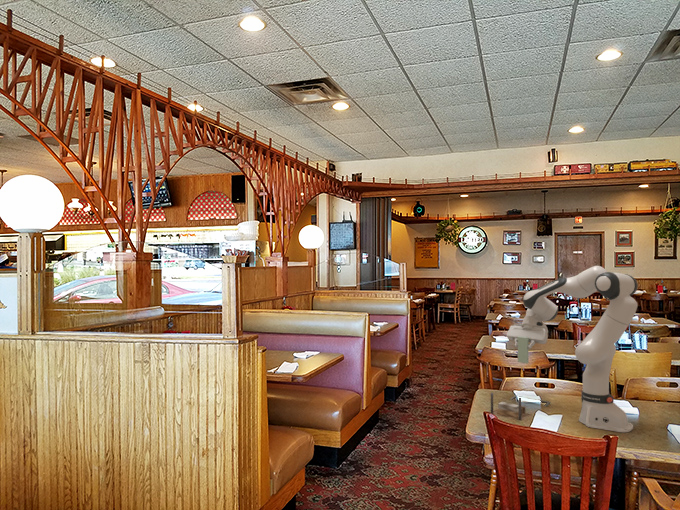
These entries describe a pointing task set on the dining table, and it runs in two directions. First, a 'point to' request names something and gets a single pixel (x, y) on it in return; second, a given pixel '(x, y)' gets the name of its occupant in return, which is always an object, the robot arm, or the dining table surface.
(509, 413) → the offcut lower
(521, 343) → the grey-green rectangular block
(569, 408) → the dining table surface
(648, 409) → the dining table surface
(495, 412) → the rack
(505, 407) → the offcut upper
